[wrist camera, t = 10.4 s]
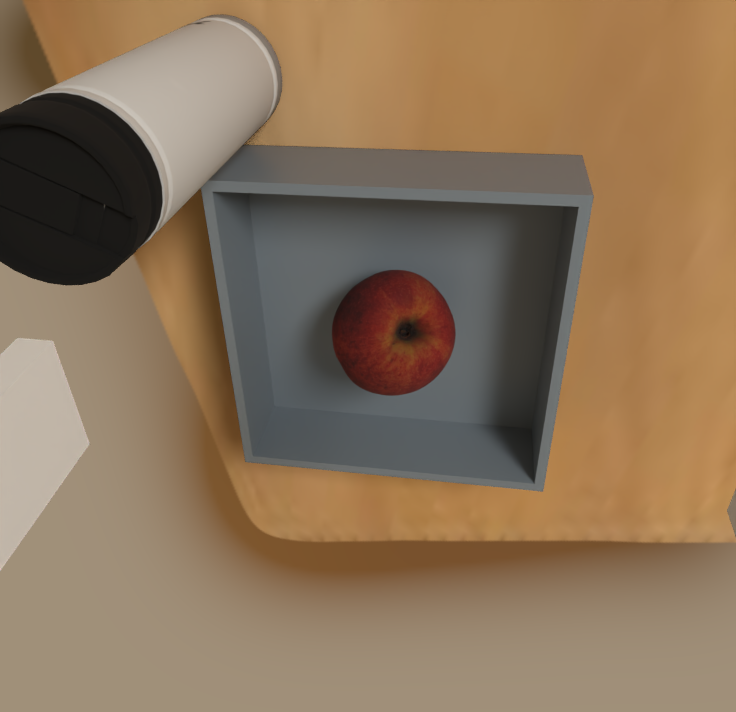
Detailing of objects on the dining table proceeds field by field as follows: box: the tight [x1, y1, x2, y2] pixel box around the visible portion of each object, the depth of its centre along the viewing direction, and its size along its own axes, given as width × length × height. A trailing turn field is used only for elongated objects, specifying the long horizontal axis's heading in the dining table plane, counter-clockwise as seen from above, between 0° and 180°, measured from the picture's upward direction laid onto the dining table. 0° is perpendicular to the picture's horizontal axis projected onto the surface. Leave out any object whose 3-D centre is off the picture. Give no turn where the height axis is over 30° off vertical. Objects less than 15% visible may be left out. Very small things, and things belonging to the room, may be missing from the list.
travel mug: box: [0, 15, 282, 285], centre depth 31 cm, size 6×7×20 cm
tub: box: [201, 145, 594, 491], centre depth 43 cm, size 20×20×6 cm
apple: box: [332, 270, 456, 396], centre depth 42 cm, size 7×8×8 cm
